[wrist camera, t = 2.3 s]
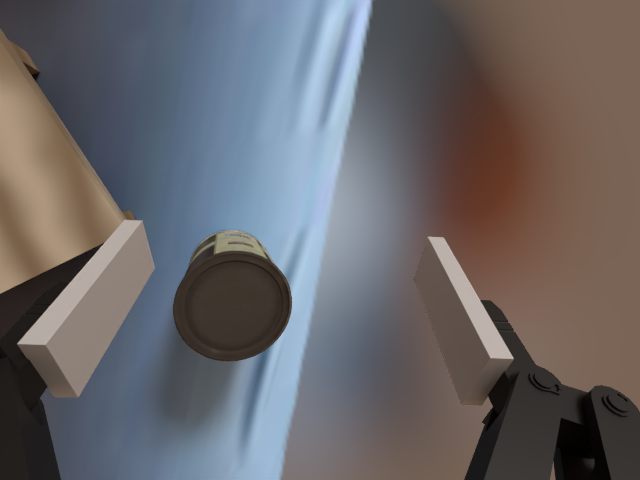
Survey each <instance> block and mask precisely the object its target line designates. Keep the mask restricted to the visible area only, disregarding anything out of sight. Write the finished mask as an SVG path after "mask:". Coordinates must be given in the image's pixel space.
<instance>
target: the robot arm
mask: <svg viewBox="0 0 640 480" xmlns="http://www.w3.org/2000/svg"><path fill="white" fill-rule="evenodd" d="M154 269H155V266H154V263H153V259H152V255H151V251H150V248H149V244H148V240H147V236H146V232H145V229H144V225H143V221H138V220H124V221H123V222H122V223H121V225H120V226H119V227H118V228H117V229H116V230H115V231H114V233H113V234H112V235H111V236H110V237H109V238H108V239H107V241H106V242H105V243H104V244H103V245H102V246H101V248H100V249H99V250H98V251H97V252H96V253H95V254H94V256H93V257H92V258H91V259H90V260H89V261H88V263H87V264H86V265H85V266H84V267H83V268H82V269H81V271H80V272H79V273H78V274H77V275H76V276H75V278H74V279H73V280H72V281H71V282H70V283H59V284H57V285H55V286H54V287H52V288H51V289H49V290H48V291H46V292H45V293H44V294H43V295H42V296H41V297H40V298H39V299H38V300H37V301H36V302H35V303H34V306H32V307H31V308H30V309H29V310H28V311H27V312H26V315H23V316H22V317H21V318H20V320H19V321H18V322H17V323H16V324H15V325H14V326H13V327H12V328H11V329H10V330H9V331H8V333H7V334H6V335H5V336H4V337H3V338H2V339H1V340H0V480H61V478H60V473H59V469H58V465H57V461H56V456H55V452H54V448H53V443H52V439H51V435H50V431H49V426H48V422H47V418H46V414H45V409H44V405H43V402H42V401H41V399H40V397H41V395H42V394H43V392H44V391H45V389H46V388H48V389H49V391H50V392H51V394H52V395H53V396H54V397H77V398H78V397H79V395H80V394H81V392H82V390H83V389H84V387H85V385H86V384H87V382H88V380H89V379H90V377H91V375H92V373H93V372H94V370H95V368H96V367H97V365H98V363H99V362H100V360H101V358H102V357H103V355H104V353H105V351H106V350H107V348H108V346H109V345H110V343H111V341H112V340H113V338H114V336H115V335H116V333H117V331H118V329H119V328H120V326H121V324H122V323H123V321H124V319H125V318H126V316H127V314H128V313H129V311H130V309H131V308H132V306H133V304H134V302H135V301H136V299H137V297H138V296H139V294H140V292H141V291H142V289H143V287H144V286H145V284H146V282H147V280H148V279H149V277H150V275H151V274H152V272H153V270H154ZM414 282H415V285H416V288H417V290H418V293H419V295H420V298H421V301H422V303H423V306H424V309H425V311H426V314H427V316H428V319H429V321H430V324H431V327H432V330H433V332H434V335H435V337H436V340H437V343H438V345H439V348H440V351H441V353H442V356H443V358H444V361H445V364H446V366H447V369H448V372H449V374H450V377H451V379H452V382H453V385H454V387H455V390H456V392H457V395H458V398H459V400H460V403H461V405H482V404H483V403H484V401H485V400H486V398H487V397H489V399H490V401H491V403H492V405H493V408H492V409H491V410H490V412H489V413H488V414H487V416H486V417H485V419H484V420H483V421H482V423H484V424H485V426H484V428H483V431H482V433H481V436H480V439H479V442H478V444H477V447H476V450H475V452H474V455H473V458H472V461H471V463H470V466H469V469H468V471H467V474H466V476H465V479H464V480H550V476H551V470H552V464H553V461H554V469H555V478H556V480H640V412H639V410H638V408H637V407H636V406H635V405H634V404H633V403H632V401H631V400H630V399H629V398H627V397H626V396H624V395H623V394H622V393H620V392H618V391H617V390H615V389H612V388H610V387H606V386H602V385H601V386H595V387H594V388H593V389H592V390H591V391H590V392H589V393H588V392H584V391H581V390H578V389H575V388H572V387H568V386H565V385H562V384H561V382H560V381H559V380H558V379H557V378H556V377H555V376H554V375H553V374H552V373H550V372H549V371H548V370H546V369H544V368H542V367H539V366H537V365H536V364H535V363H534V361H533V360H532V358H531V357H530V355H529V353H528V352H527V350H526V349H525V347H524V345H523V344H522V342H521V341H520V339H519V338H518V336H517V334H516V333H515V332H514V331H513V328H512V326H511V325H510V323H508V320H507V319H506V317H505V315H504V314H503V312H502V311H501V310H500V309H499V308H498V307H497V306H496V305H495V304H494V303H493V302H491V301H488V300H479V298H478V296H477V294H476V293H475V291H474V289H473V287H472V286H471V284H470V282H469V281H468V279H467V277H466V276H465V274H464V272H463V270H462V269H461V267H460V265H459V263H458V262H457V260H456V258H455V257H454V255H453V253H452V251H451V250H450V248H449V246H448V244H447V243H446V241H445V240H444V238H442V237H428V238H427V241H426V244H425V247H424V250H423V253H422V256H421V259H420V262H419V265H418V268H417V271H416V275H415V277H414Z"/></svg>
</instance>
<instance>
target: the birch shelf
mask: <svg viewBox="0 0 640 480" xmlns="http://www.w3.org/2000/svg"><path fill="white" fill-rule="evenodd" d="M39 72H40V71H39V70H38V68H37V67H36V65H35V64H34V62H33V61H32V59H31V58H30V56H29V55H28V53H27V52H26V51H24V50H23V49H21V48H20V47H18V46H17V45H15V44H14V43H12V42H11V41H9V40H8V39H7V38H6V36H5V35H4V33H3V32H2V30H1V29H0V294H1V293H3V292H5V291H7V290H9V289H11V288H13V287H15V286H17V285H19V284H21V283H23V282H25V281H27V280H29V279H31V278H33V277H35V276H37V275H39V274H41V273H43V272H45V271H47V270H49V269H51V268H54V267H56V266H58V265H60V264H62V263H64V262H66V261H68V260H70V259H72V258H74V257H76V256H78V255H80V254H82V253H84V252H86V251H88V250H90V249H92V248H94V247H96V246H98V245H100V244H102V243H104V242H106V241H107V239H108V238H109V237H110V236H111V235H112V234H113V233H114V231H115V230H116V229H117V228H118V227H119V226H120V225H121V223H122V222H123V221H124V220H136V218H135V217H134V215H133V214H132V212H131V211H130V210H128V211H125V212H121V210H120V208H119V207H118V205H117V204H116V202H115V201H114V199H113V198H112V196H111V195H110V193H109V192H108V190H107V189H106V187H105V186H104V184H103V183H102V181H101V180H100V178H99V177H98V175H97V174H96V172H95V171H94V169H93V168H92V166H91V165H90V163H89V162H88V160H87V159H86V157H85V156H84V154H83V153H82V151H81V150H80V148H79V147H78V145H77V144H76V142H75V141H74V139H73V137H72V136H71V134H70V133H69V131H68V130H67V128H66V127H65V125H64V124H63V122H62V121H61V119H60V118H59V116H58V115H57V113H56V112H55V110H54V109H53V107H52V106H51V104H50V103H49V101H48V100H47V98H46V97H45V95H44V94H43V92H42V91H41V89H40V88H39V86H38V85H37V83H36V82H35V80H34V79H33V77H32V76H31V75H33V74H36V73H39Z"/></svg>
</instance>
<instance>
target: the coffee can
mask: <svg viewBox="0 0 640 480" xmlns="http://www.w3.org/2000/svg"><path fill="white" fill-rule="evenodd" d="M291 309H292V296H291V291H290V287H289V284H288V282H287V280H286V278H285V276H284V275H283V273H282V272H281V271H280V270H279V268H278V267H277V266H276V265H275V264H274V262H273V261H272V259H271V257H270V256H269V254H268V252H267V250H266V248H265V247H264V245H263V244H262V243H261V242H260V241H259V240H258V239H257V238H255V237H254V236H252V235H250V234H248V233H245V232H242V231H237V230H226V231H221V232H217V233H214V234H212V235H210V236H209V237H207V238H206V239H204V240H203V241H202V242H201V243H200V244H199V245H198V246H197V248H196V249H195V251H194V252H193V254H192V257H191V260H190V264H189V267H188V269H187V272H186V274H185V276H184V278H183V280H182V281H181V283H180V285H179V287H178V289H177V292H176V295H175V298H174V304H173V315H174V320H175V324H176V327H177V330H178V332H179V334H180V335H181V337H182V339H183V340H184V341H185V342H186V343H187V345H188V346H190V347H191V348H192V349H193V350H194V351H196V352H197V353H199V354H201V355H203V356H205V357H207V358H211V359H214V360H220V361H238V360H243V359H247V358H250V357H253V356H255V355H257V354H259V353H261V352H263V351H265V350H266V349H267V348H269V347H270V346H271V345H272V344H273V343H274V342H275V341H276V340H277V339H278V338H279V337H280V336H281V334H282V333H283V331H284V330H285V328H286V326H287V324H288V321H289V318H290V314H291Z"/></svg>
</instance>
